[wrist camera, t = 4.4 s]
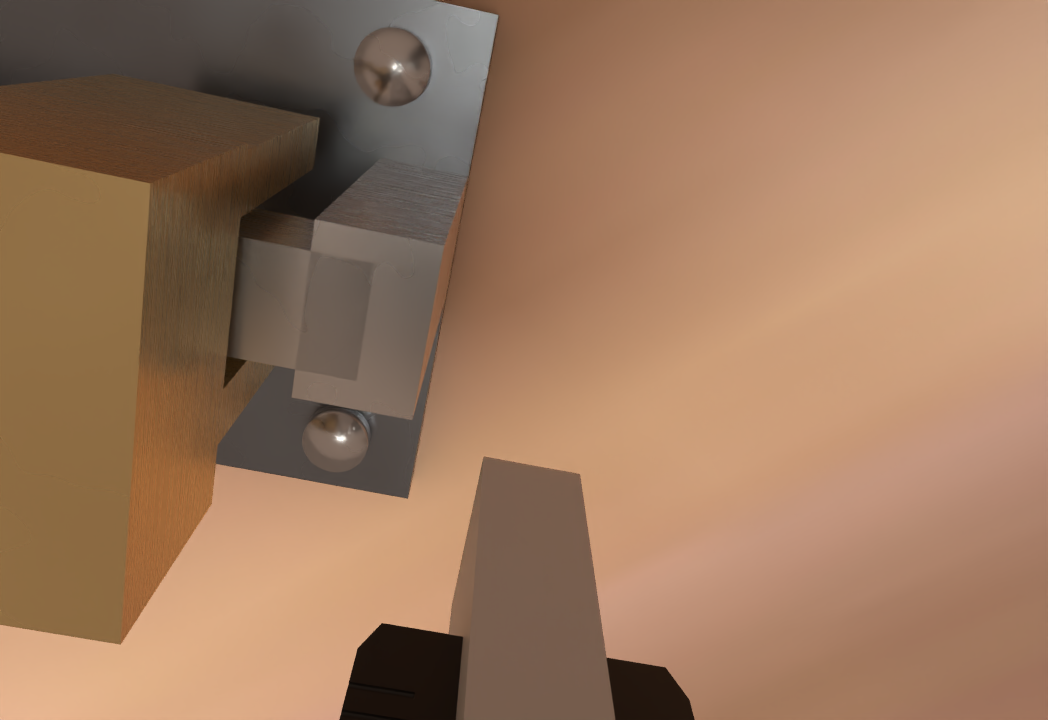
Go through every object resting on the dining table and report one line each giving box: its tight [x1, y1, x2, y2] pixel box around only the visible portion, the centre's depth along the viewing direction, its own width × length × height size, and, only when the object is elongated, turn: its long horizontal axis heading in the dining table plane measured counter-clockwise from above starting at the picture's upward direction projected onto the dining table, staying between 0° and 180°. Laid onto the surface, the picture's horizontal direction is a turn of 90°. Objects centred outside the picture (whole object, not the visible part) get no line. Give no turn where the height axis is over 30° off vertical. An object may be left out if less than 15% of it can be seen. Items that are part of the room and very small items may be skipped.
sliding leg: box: [0, 74, 320, 644], centre depth 15 cm, size 7×4×10 cm, turn 168°
